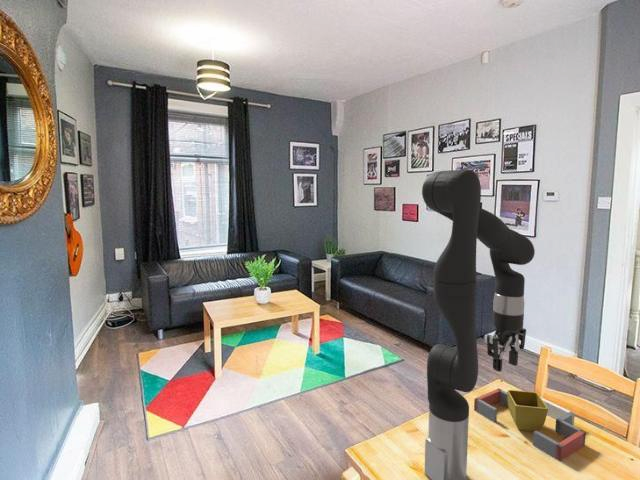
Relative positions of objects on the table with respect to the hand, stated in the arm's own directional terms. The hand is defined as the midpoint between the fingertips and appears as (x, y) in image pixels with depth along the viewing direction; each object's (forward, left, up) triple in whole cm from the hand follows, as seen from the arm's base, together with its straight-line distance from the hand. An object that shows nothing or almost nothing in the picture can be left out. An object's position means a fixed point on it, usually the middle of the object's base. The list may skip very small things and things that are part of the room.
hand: (505, 367), depth 101 cm
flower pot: (+11, 0, -22) cm, 25 cm away
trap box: (+15, 0, -22) cm, 26 cm away
